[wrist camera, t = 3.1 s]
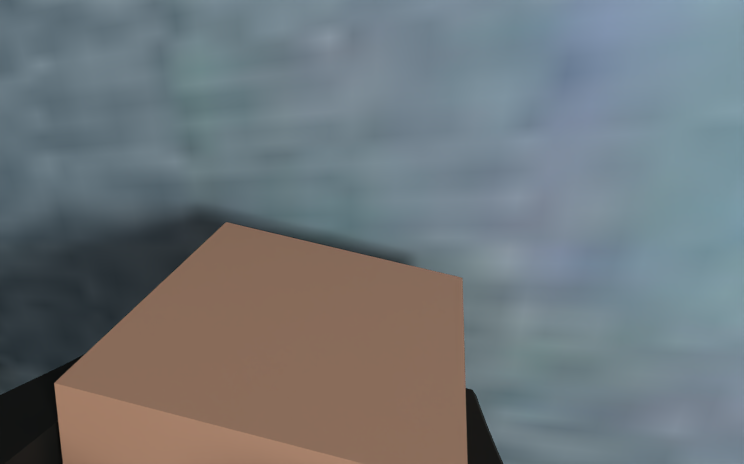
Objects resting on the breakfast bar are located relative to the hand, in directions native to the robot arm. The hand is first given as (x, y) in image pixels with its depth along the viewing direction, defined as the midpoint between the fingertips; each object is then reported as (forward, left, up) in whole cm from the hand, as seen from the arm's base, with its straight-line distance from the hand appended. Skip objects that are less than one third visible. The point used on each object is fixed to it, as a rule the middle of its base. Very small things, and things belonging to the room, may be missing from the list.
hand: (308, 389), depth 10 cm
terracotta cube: (0, 0, -1) cm, 1 cm away
